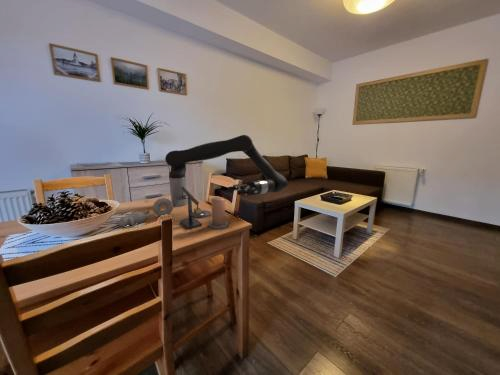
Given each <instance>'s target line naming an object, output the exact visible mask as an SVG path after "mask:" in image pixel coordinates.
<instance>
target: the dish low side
mask: <svg viewBox="0 0 500 375" xmlns="http://www.w3.org/2000/svg"><path fill="white" fill-rule="evenodd" d="M208 223H209V224H208V227H209V228H210V229H213V230H222V229H226V228H227V227H229V222H228V221H227V220H225V224H224V225H221V226H215V225H213V224H212V220H211V221H210V222H208Z"/></svg>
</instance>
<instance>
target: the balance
mask: <svg viewBox="0 0 500 375" xmlns="http://www.w3.org/2000/svg"><path fill="white" fill-rule="evenodd" d="M181 190H182V195H180V196H177V197H176V198H177V199H179V200H183V199H187V211H188V212H187V213H188V218H185V219H181V220H180V221H179V224H180V225H182V226H183V227H184V228H186V230H188V231H189V230H192V229H193V230H194V229H196V228H200V227H203V223H202V222H201V221H199V219H196V218H197V217H201V216H204V215H205V212H203V211H201V210H202V208H200V207H199V203H200V202H199V201H198V200H197V199H196V198H195V197H194V196H193V195H192V194H191V193H190V192H189V191H188V190H187V188H186V189H185V188H184V187H181ZM183 192H184V193H185V194H186V195H183ZM192 202H193V203H194V205H195V206H196V207H195V208H193V204H192Z"/></svg>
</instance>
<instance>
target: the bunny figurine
mask: <svg viewBox="0 0 500 375" xmlns="http://www.w3.org/2000/svg"><path fill="white" fill-rule="evenodd" d="M154 216H155V213H153V212H151V213H150V210H145V211H144V212H142V211H138V210H137V211H133V212H130V214H127V215H124V216H121V217H120V218H119V219H118V221H117V225H118V226H119V227H124V226H127V225H129V226H134V225H137V224H136V223H139V224H141V223H140V222H142V223H143V222H144V221H145V218H151V217H154ZM124 228H125V227H124Z"/></svg>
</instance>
